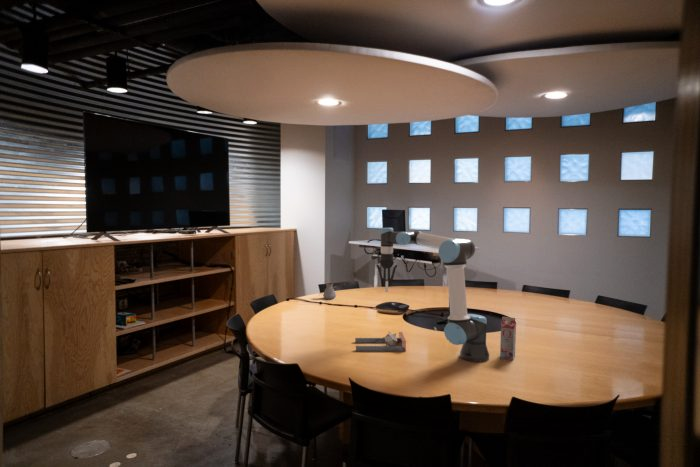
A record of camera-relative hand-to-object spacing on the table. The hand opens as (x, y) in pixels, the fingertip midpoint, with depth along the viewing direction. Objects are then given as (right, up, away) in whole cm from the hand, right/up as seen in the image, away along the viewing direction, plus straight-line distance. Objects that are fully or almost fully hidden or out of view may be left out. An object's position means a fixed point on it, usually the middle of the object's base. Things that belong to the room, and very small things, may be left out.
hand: (386, 291), depth 267 cm
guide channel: (-5, -30, -12) cm, 33 cm away
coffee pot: (-36, -22, +116) cm, 124 cm away
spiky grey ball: (+2, -31, -12) cm, 33 cm away
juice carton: (+63, -32, -30) cm, 77 cm away
